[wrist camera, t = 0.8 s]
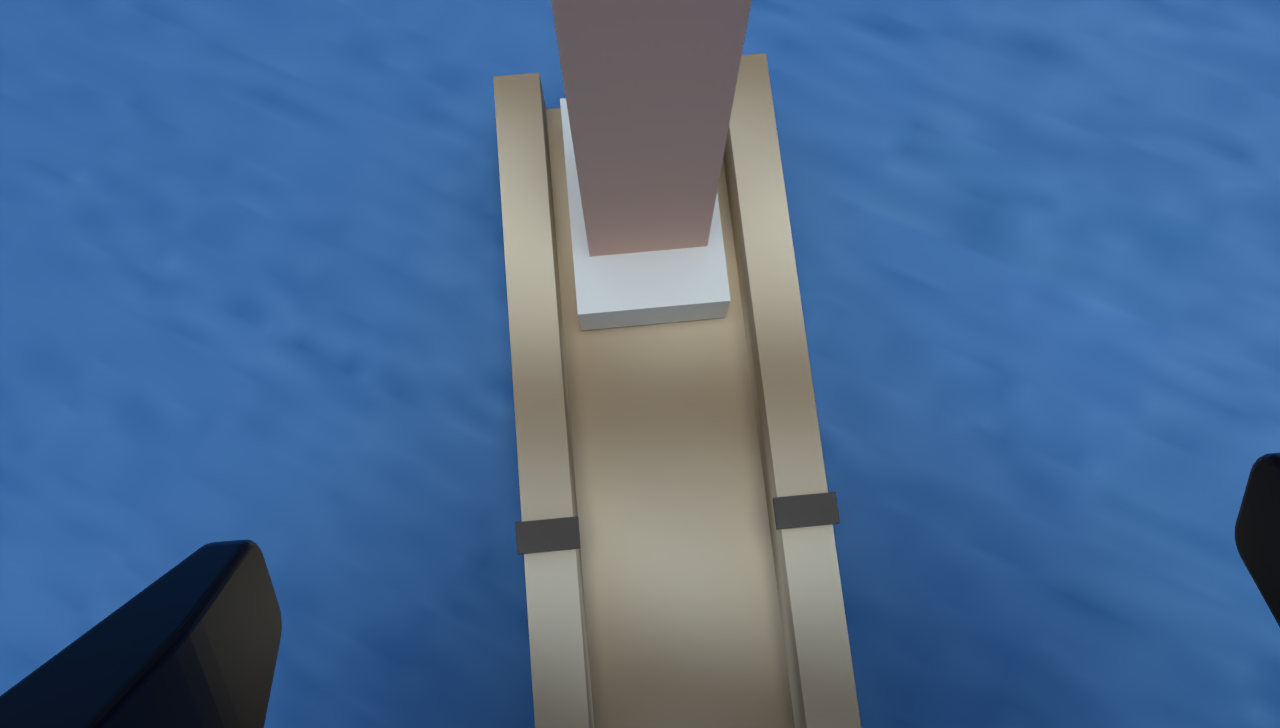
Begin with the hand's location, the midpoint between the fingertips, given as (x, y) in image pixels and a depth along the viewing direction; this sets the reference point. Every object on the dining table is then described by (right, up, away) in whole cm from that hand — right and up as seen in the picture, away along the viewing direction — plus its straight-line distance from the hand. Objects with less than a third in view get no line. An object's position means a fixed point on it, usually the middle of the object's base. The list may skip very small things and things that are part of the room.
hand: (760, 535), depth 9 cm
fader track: (-1, 0, +13) cm, 13 cm away
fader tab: (-1, +5, +13) cm, 14 cm away
